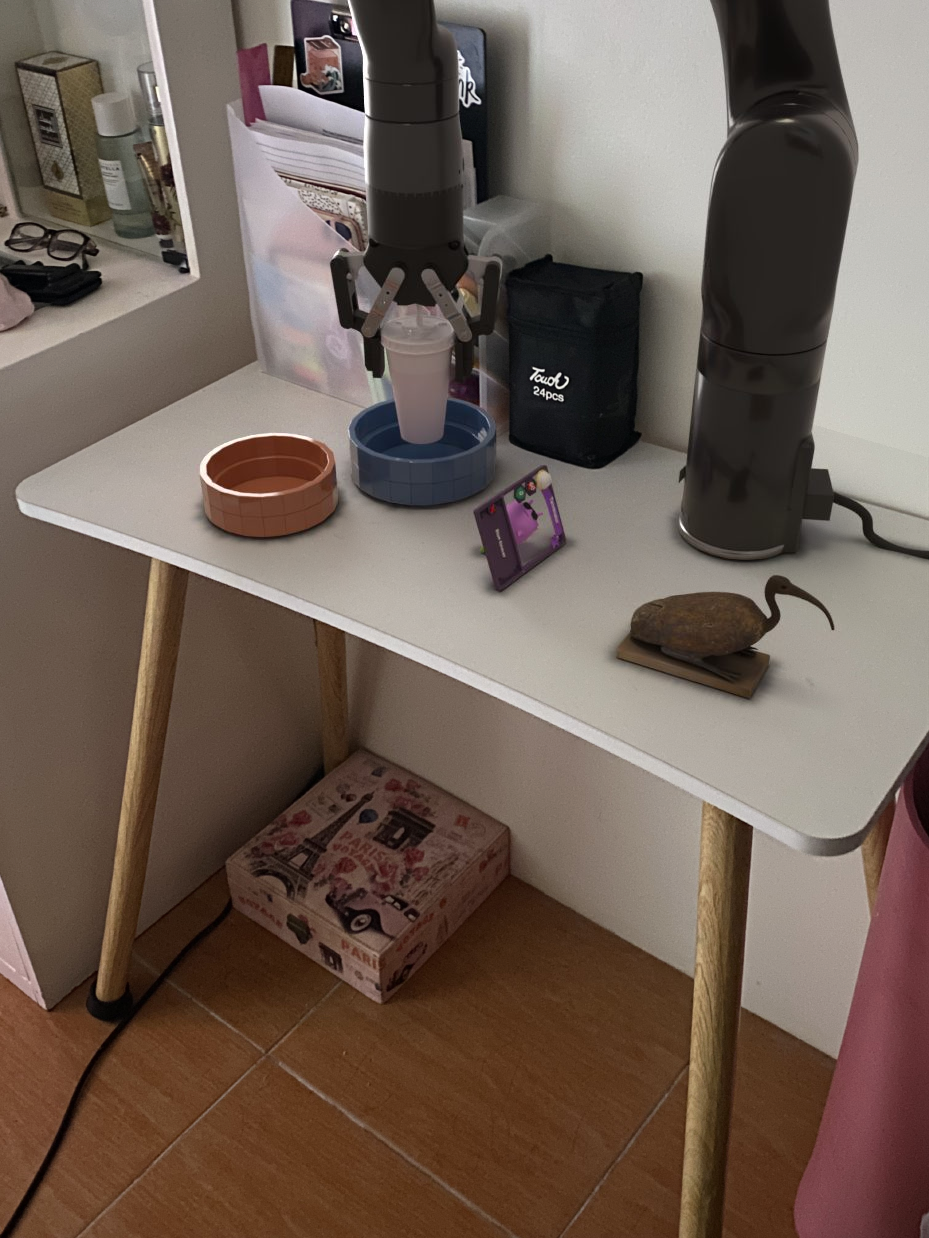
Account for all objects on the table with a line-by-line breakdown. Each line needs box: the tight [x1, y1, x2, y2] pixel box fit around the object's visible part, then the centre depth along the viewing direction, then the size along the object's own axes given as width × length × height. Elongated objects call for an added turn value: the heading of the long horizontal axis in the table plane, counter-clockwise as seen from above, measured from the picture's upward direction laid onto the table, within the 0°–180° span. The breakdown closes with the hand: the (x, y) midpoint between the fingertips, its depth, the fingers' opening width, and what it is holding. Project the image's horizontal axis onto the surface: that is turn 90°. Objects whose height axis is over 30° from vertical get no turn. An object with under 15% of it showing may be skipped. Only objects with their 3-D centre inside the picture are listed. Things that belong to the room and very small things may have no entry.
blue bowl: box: [347, 396, 497, 506], centre depth 107 cm, size 13×13×4 cm
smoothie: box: [380, 304, 457, 444], centre depth 102 cm, size 6×6×14 cm
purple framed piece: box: [472, 464, 567, 591], centre depth 96 cm, size 7×5×9 cm
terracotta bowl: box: [198, 432, 339, 538], centre depth 103 cm, size 11×11×4 cm
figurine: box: [615, 574, 836, 699], centre depth 83 cm, size 14×4×9 cm, turn 61°
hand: (420, 376), depth 103 cm, fingers closed on smoothie, 6 cm apart
